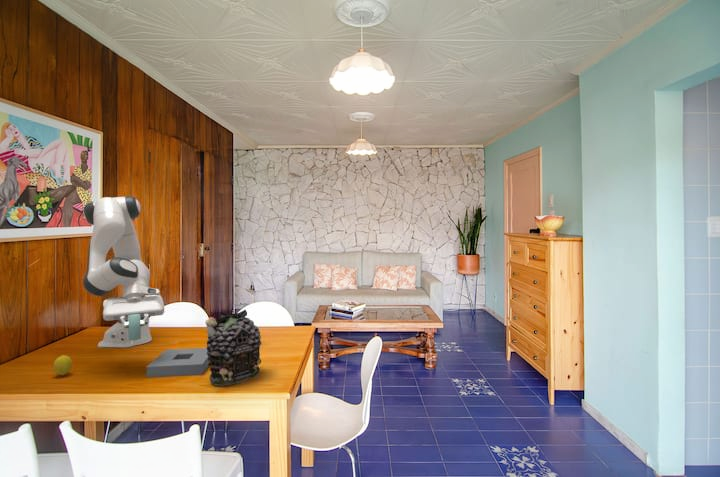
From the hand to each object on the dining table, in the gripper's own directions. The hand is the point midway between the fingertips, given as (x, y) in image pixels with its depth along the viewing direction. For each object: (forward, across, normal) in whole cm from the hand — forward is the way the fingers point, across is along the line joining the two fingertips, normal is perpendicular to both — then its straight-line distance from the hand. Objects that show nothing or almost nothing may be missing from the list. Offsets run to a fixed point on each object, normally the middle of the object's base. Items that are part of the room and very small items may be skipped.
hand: (134, 326), depth 142 cm
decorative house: (+27, +33, +1) cm, 42 cm away
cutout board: (+11, +16, +16) cm, 26 cm away
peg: (+3, 0, +4) cm, 5 cm away
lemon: (+3, -24, +24) cm, 34 cm away
